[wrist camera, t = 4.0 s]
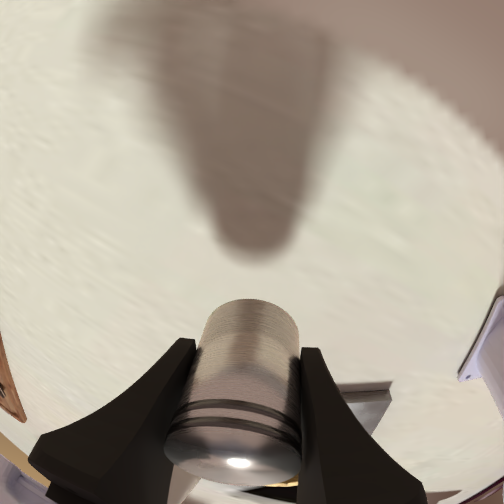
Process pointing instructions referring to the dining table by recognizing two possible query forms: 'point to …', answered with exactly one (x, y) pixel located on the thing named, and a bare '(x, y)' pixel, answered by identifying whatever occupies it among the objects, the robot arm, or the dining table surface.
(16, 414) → the chopping board
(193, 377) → the piston
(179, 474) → the flask
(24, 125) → the dining table surface
